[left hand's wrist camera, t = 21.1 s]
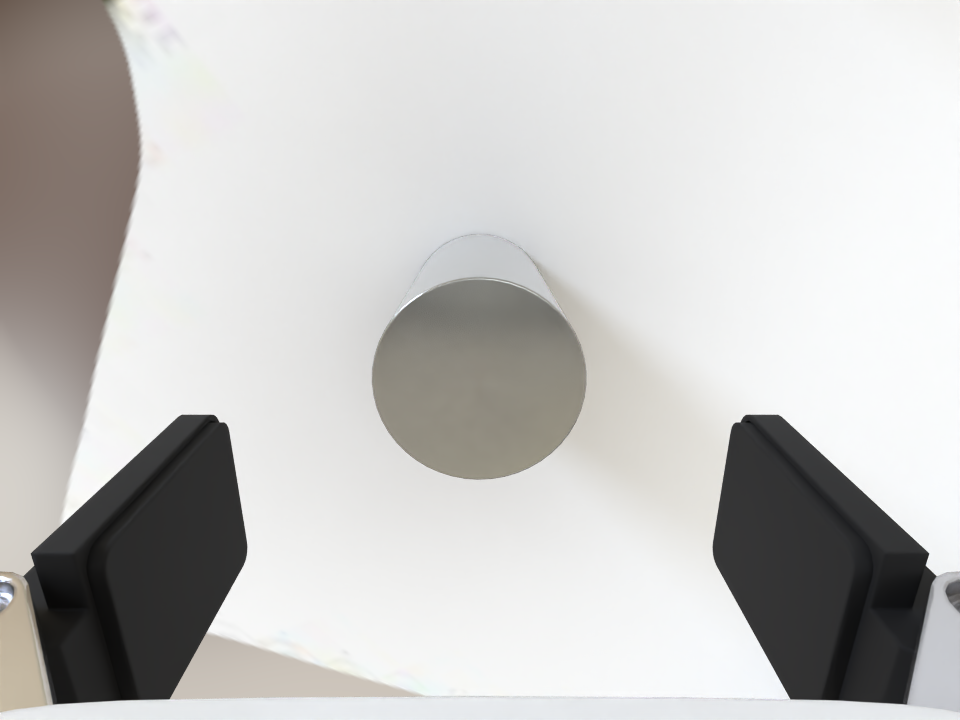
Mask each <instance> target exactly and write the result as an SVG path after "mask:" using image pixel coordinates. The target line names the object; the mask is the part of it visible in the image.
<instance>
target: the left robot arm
mask: <svg viewBox="0 0 960 720" xmlns="http://www.w3.org/2000/svg"><path fill="white" fill-rule="evenodd" d="M31 556H32V559H33V562H34V567H33V568H32V569H31V570H29V571H28V572H27V573H26V574H25V575H24V576H21V575H18V574H16V573H13V572H0V720H960V572H947V573H944V574H942V575H939V576H936V575H935V574H934V573H933V572H932V571H931V570H930V569H928V568H927V567H926V562H927V559H928V556H929V553H928V552H927V551H926V550H925V549H924V548H923V547H922V546H921V545H919V544H918V543H917V542H916V541H915V540H914V539H913V538H912V537H911V536H910V535H909V534H908V533H907V532H905V531H904V530H903V529H902V528H901V527H900V526H899V525H898V524H897V523H896V522H895V521H894V520H892V519H891V518H890V517H889V516H888V515H887V514H886V513H885V512H884V511H883V510H882V509H881V508H880V507H878V506H877V505H876V504H875V503H874V502H873V501H872V500H871V499H870V498H869V497H868V496H867V495H865V494H864V493H863V492H862V491H861V490H860V489H859V488H858V487H857V486H856V485H855V484H854V483H853V482H851V481H850V480H849V479H848V478H847V477H846V476H845V475H844V474H843V473H842V472H841V471H840V470H838V469H837V468H836V467H835V466H834V465H833V464H832V463H831V462H830V461H829V460H828V459H827V458H826V457H824V456H823V455H822V454H821V453H820V452H819V451H818V450H817V449H816V448H815V447H814V446H813V445H811V444H810V443H809V442H808V441H807V440H806V439H805V438H804V437H803V436H802V435H801V434H800V433H799V432H797V431H796V430H795V429H794V428H793V427H792V426H791V425H790V424H789V423H788V422H787V421H786V420H784V419H783V418H782V417H781V416H779V415H745V416H744V417H743V419H742V421H741V423H735V424H733V426H732V429H731V434H730V440H729V446H728V452H727V459H726V465H725V471H724V477H723V484H722V490H721V496H720V502H719V509H718V515H717V521H716V527H715V533H714V540H713V556H714V560H715V563H716V565H717V567H718V569H719V571H720V573H721V574H722V576H723V578H724V580H725V582H726V583H727V585H728V587H729V589H730V591H731V593H732V594H733V596H734V598H735V600H736V602H737V603H738V605H739V607H740V609H741V611H742V612H743V614H744V616H745V618H746V620H747V621H748V623H749V625H750V627H751V629H752V630H753V632H754V634H755V636H756V638H757V640H758V641H759V643H760V645H761V647H762V649H763V650H764V652H765V654H766V656H767V658H768V659H769V661H770V663H771V665H772V667H773V668H774V670H775V672H776V674H777V676H778V678H779V679H780V681H781V683H782V685H783V687H784V688H785V690H786V692H787V694H788V696H789V697H790V699H791V700H789V699H738V698H687V697H493V696H467V697H274V698H224V699H223V698H222V699H171V700H169V699H170V697H171V696H172V694H173V692H174V690H175V688H176V686H177V685H178V683H179V681H180V679H181V677H182V676H183V674H184V672H185V670H186V668H187V667H188V665H189V663H190V661H191V659H192V658H193V656H194V654H195V652H196V650H197V649H198V647H199V645H200V643H201V641H202V640H203V638H204V636H205V634H206V632H207V630H208V629H209V627H210V625H211V623H212V621H213V620H214V618H215V616H216V614H217V612H218V611H219V609H220V607H221V605H222V603H223V602H224V600H225V598H226V596H227V594H228V593H229V591H230V589H231V587H232V585H233V583H234V582H235V580H236V578H237V576H238V574H239V573H240V571H241V569H242V567H243V565H244V563H245V560H246V556H247V540H246V533H245V527H244V521H243V515H242V509H241V502H240V496H239V490H238V484H237V477H236V471H235V465H234V459H233V452H232V446H231V440H230V434H229V429H228V426H227V424H225V423H219V421H218V419H217V417H216V416H215V415H181V416H179V417H178V418H177V419H176V420H174V421H173V422H172V423H171V424H170V425H169V426H168V427H167V428H166V429H165V430H164V431H163V432H161V433H160V434H159V435H158V436H157V437H156V438H155V439H154V440H153V441H152V442H151V443H150V444H149V445H147V446H146V447H145V448H144V449H143V450H142V451H141V452H140V453H139V454H138V455H137V456H136V457H134V458H133V459H132V460H131V461H130V462H129V463H128V464H127V465H126V466H125V467H124V468H123V469H122V470H120V471H119V472H118V473H117V474H116V475H115V476H114V477H113V478H112V479H111V480H110V481H109V482H107V483H106V484H105V485H104V486H103V487H102V488H101V489H100V490H99V491H98V492H97V493H96V494H95V495H93V496H92V497H91V498H90V499H89V500H88V501H87V502H86V503H85V504H84V505H83V506H82V507H80V508H79V509H78V510H77V511H76V512H75V513H74V514H73V515H72V516H71V517H70V518H69V519H68V520H66V521H65V522H64V523H63V524H62V525H61V526H60V527H59V528H58V529H57V530H56V531H55V532H53V533H52V534H51V535H50V536H49V537H48V538H47V539H46V540H45V541H44V542H43V543H42V544H41V545H39V546H38V547H37V548H36V549H35V550H34V551H33V552H32V553H31Z"/></svg>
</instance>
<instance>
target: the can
mask: <svg viewBox="0 0 960 720" xmlns="http://www.w3.org/2000/svg"><path fill="white" fill-rule="evenodd" d="M372 387H373V395H374V399H375V403H376V407H377V410H378V412H379V415H380V417H381V420H382V422H383V423H384V425H385V427H386V429H387V430H388V432H389V433H390V435H391V436H392V437H393V439H394V440H395V441H396V442H397V443H398V445H399V446H400V447H401V448H402V449H403V450H404V451H405V452H407V453H408V454H409V455H410V456H412V457H413V458H414V459H415V460H417V461H419V462H420V463H422V464H424V465H425V466H427V467H429V468H431V469H433V470H436V471H438V472H440V473H444V474H447V475H450V476H454V477H459V478H464V479H493V478H499V477H505V476H508V475H512V474H515V473H518V472H521V471H523V470H525V469H528V468H530V467H531V466H533V465H535V464H537V463H538V462H540V461H542V460H543V459H544V458H546V457H547V456H548V455H550V454H551V453H552V452H553V451H554V450H555V449H556V448H557V447H558V446H559V445H560V444H561V443H562V442H563V440H564V439H565V438H566V437H567V435H568V434H569V433H570V431H571V429H572V428H573V426H574V424H575V423H576V421H577V418H578V416H579V414H580V411H581V408H582V405H583V401H584V398H585V391H586V365H585V358H584V355H583V351H582V348H581V345H580V342H579V340H578V338H577V336H576V333H575V331H574V330H573V328H572V326H571V325H570V323H569V321H568V320H567V318H566V316H565V315H564V313H563V311H562V309H561V308H560V306H559V304H558V303H557V301H556V299H555V298H554V296H553V294H552V292H551V291H550V289H549V287H548V286H547V284H546V282H545V281H544V279H543V277H542V275H541V274H540V272H539V270H538V269H537V267H536V265H535V264H534V262H533V261H532V260H531V258H530V257H529V256H528V255H527V254H526V253H525V252H524V251H523V250H522V249H521V248H519V247H518V246H516V245H515V244H513V243H512V242H510V241H508V240H506V239H503V238H500V237H497V236H492V235H485V234H474V235H467V236H462V237H459V238H456V239H454V240H452V241H449V242H447V243H446V244H444V245H443V246H441V247H440V248H438V249H437V250H436V251H435V252H434V253H433V254H432V255H431V256H430V257H429V258H428V260H427V261H426V263H425V264H424V266H423V267H422V269H421V270H420V272H419V274H418V275H417V277H416V279H415V280H414V282H413V284H412V285H411V287H410V289H409V290H408V292H407V294H406V295H405V297H404V299H403V300H402V302H401V304H400V305H399V307H398V309H397V310H396V312H395V314H394V315H393V317H392V319H391V320H390V322H389V324H388V325H387V327H386V329H385V330H384V332H383V335H382V337H381V339H380V341H379V343H378V346H377V349H376V353H375V356H374V362H373V368H372Z"/></svg>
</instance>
